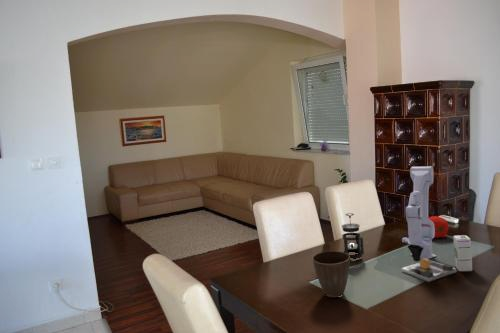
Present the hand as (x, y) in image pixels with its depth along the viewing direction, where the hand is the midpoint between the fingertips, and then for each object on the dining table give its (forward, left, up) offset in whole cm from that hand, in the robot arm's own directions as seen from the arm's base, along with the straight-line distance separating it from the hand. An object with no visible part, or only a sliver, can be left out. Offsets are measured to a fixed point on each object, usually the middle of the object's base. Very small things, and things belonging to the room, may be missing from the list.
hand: (416, 260), depth 187 cm
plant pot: (-1, -46, -4) cm, 46 cm away
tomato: (-26, +42, -4) cm, 49 cm away
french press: (-29, -13, -4) cm, 32 cm away
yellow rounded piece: (+5, 0, -2) cm, 5 cm away
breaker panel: (+6, +1, -4) cm, 7 cm away
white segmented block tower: (+13, +14, -4) cm, 19 cm away
